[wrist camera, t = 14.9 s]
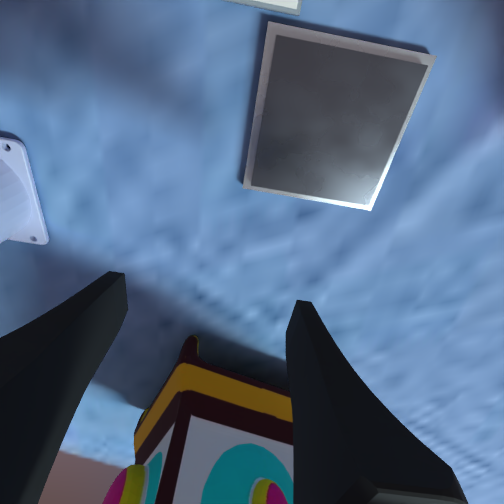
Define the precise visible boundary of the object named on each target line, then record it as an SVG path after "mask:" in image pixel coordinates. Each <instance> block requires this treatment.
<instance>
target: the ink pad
mask: <svg viewBox="0 0 504 504" xmlns="http://www.w3.org/2000/svg"><path fill="white" fill-rule="evenodd" d="M436 57H437V56H435V55H430V54H425V53H420V52H415V51H410V50H405V49H401V48H396V47H391V46H386V45H381V44H376V43H371V42H367V41H362V40H357V39H352V38H347V37H342V36H337V35H333V34H328V33H323V32H318V31H313V30H308V29H304V28H299V27H294V26H289V25H284V24H279V23H274V22H270V21H268V27H267V33H266V40H265V46H264V53H263V59H262V66H261V72H260V79H259V85H258V92H257V98H256V105H255V111H254V118H253V124H252V131H251V137H250V144H249V150H248V157H247V163H246V170H245V176H244V183H243V188H244V189H250V190H256V191H262V192H268V193H273V194H279V195H285V196H291V197H297V198H302V199H308V200H314V201H320V202H326V203H331V204H337V205H343V206H349V207H355V208H360V209H366V210H371V208H372V206H373V203H374V201H375V199H376V197H377V194H378V192H379V190H380V187H381V185H382V183H383V180H384V178H385V176H386V173H387V171H388V169H389V166H390V164H391V162H392V159H393V157H394V155H395V152H396V150H397V148H398V145H399V143H400V141H401V138H402V136H403V134H404V131H405V129H406V127H407V124H408V122H409V120H410V117H411V115H412V113H413V110H414V108H415V106H416V103H417V101H418V99H419V96H420V94H421V92H422V89H423V87H424V85H425V83H426V80H427V78H428V76H429V73H430V71H431V69H432V66H433V64H434V62H435V59H436Z"/></svg>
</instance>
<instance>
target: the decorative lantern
mask: <svg viewBox="0 0 504 504" xmlns="http://www.w3.org/2000/svg"><path fill="white" fill-rule="evenodd" d="M198 345H199V340H198V338H197V336H194V335H192V336H189V337H188V338H187V339H186V340H185V343H184V345H183V347H182V350H181V353H180V355H179V358H178V360H177V362H176V364H175V366H174V368H173V370H172V371H171V373H170V375H169V376H168V378H167V380H166V381H165V383H164V385H163V386H162V388H161V390H160V391H159V393H158V395H157V396H156V398H155V399H154V401H153V403H152V404H151V406H150V408H148V409H146V410H144V412H143V413H142V415H141V417H140V419H139V421H138V424H137V427H136V429H135V432H134V450H135V465H130V466H129V467H127V468H125V469H124V470H123V471H122V472H121V473H120V474H119V475H118V476H117V478H116V479H115V481H114V482H113V484H112V485H111V487H110V489H109V491H108V493H107V495H106V497H105V499H104V501H103V503H102V504H293V417H292V405H291V397H290V391H287V390H284V389H281V388H278V387H275V386H272V385H270V384H267V383H264V382H261V381H258V380H255V379H252V378H249V377H246V376H243V375H241V374H238V373H235V372H232V371H229V370H226V369H223V368H220V367H217V366H215V365H212V364H209V363H206V362H205V361H203V360H202V359H200V357H199V356H198Z"/></svg>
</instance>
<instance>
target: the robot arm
mask: <svg viewBox="0 0 504 504" xmlns="http://www.w3.org/2000/svg"><path fill="white" fill-rule="evenodd" d="M6 144H8V145H9V146H10V148H11V149H9V148H8V147H7V145H6ZM34 237H36V238H34ZM6 239H7V240H14V241H20V242H27V243H33V244H40V245H45V244H47V243H48V242H49V236H48V232H47V228H46V224H45V220H44V217H43V213H42V209H41V205H40V201H39V197H38V194H37V190H36V186H35V182H34V178H33V174H32V171H31V167H30V163H29V159H28V155H27V151H26V148H25V146H24V145H23V143H22V142H20V141H18V140H15V139H10V138H4V137H0V243H2V242H3V241H5V240H6ZM127 311H128V304H127V294H126V284H125V274H124V273H119V272H112V271H109V272H107V273H106V274H104V275H103V276H101V277H100V278H98V279H97V280H95V281H94V282H93V283H91V284H90V285H88V286H87V287H85V288H84V289H82V290H81V291H79V292H78V293H76V294H75V295H73V296H72V297H70V298H69V299H67V300H66V301H64V302H63V303H61V304H60V305H58V306H56V307H55V308H53V309H52V310H50V311H48V312H47V313H45V314H43V315H42V316H40V317H38V318H37V319H35V320H33V321H31V322H30V323H28V324H26V325H24V326H22V327H20V328H19V329H17V330H15V331H13V332H11V333H9V334H7V335H5V336H3V337H1V338H0V504H38V501H39V499H40V496H41V493H42V491H43V488H44V486H45V483H46V481H47V478H48V475H49V473H50V470H51V468H52V465H53V463H54V461H55V458H56V456H57V453H58V451H59V448H60V446H61V443H62V441H63V439H64V436H65V434H66V432H67V430H68V427H69V425H70V423H71V420H72V418H73V416H74V414H75V411H76V409H77V407H78V405H79V403H80V401H81V398H82V396H83V394H84V392H85V390H86V388H87V386H88V384H89V382H90V381H91V379H92V377H93V375H94V374H95V372H96V370H97V369H98V367H99V365H100V363H101V362H102V360H103V358H104V356H105V355H106V353H107V351H108V350H109V348H110V346H111V344H112V343H113V341H114V339H115V337H116V336H117V334H118V332H119V330H120V328H121V325H122V323H123V321H124V318H125V316H126V313H127ZM286 362H287V371H288V380H289V388H290V397H291V405H292V417H293V504H468V502H467V499H466V497H465V495H464V493H463V490H462V488H461V486H460V484H459V482H458V480H457V478H456V476H455V474H454V472H453V470H452V468H451V467H450V466H449V465H447V464H446V463H445V462H444V461H443V460H442V459H441V458H439V457H438V456H437V455H436V454H435V453H434V452H432V451H431V450H430V449H429V448H428V447H427V446H425V445H424V444H423V443H422V442H421V441H420V440H419V439H418V438H416V437H415V436H414V435H413V434H412V433H411V432H410V431H409V430H408V429H407V428H406V427H405V426H404V425H403V424H402V423H401V422H400V421H399V420H398V419H397V418H396V417H395V416H394V415H393V414H392V413H391V412H390V411H389V410H388V409H387V408H386V407H385V406H384V405H383V404H382V402H381V401H380V400H379V399H378V398H377V397H376V396H375V395H374V394H373V393H372V391H371V390H370V389H369V388H368V387H367V386H366V384H365V383H364V382H363V381H362V379H361V378H360V377H359V376H358V374H357V373H356V372H355V371H354V369H353V368H352V367H351V365H350V364H349V362H348V361H347V360H346V358H345V357H344V355H343V354H342V352H341V351H340V349H339V348H338V346H337V345H336V343H335V342H334V340H333V338H332V337H331V335H330V334H329V332H328V330H327V329H326V327H325V325H324V323H323V322H322V320H321V318H320V316H319V315H318V313H317V311H316V309H315V307H314V306H313V304H312V302H309V301H302V300H297V301H296V304H295V307H294V310H293V313H292V316H291V319H290V322H289V325H288V328H287V330H286Z"/></svg>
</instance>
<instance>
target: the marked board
mask: <svg viewBox="0 0 504 504" xmlns="http://www.w3.org/2000/svg"><path fill="white" fill-rule="evenodd" d="M223 1H227V2H232V3H237V4H242V5H247V6H251V7H256V8H261V9H266V10H271V11H275V12H280V13H285V14H290V15H295V16H299V14H300V9H301V4H302V0H223Z"/></svg>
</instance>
